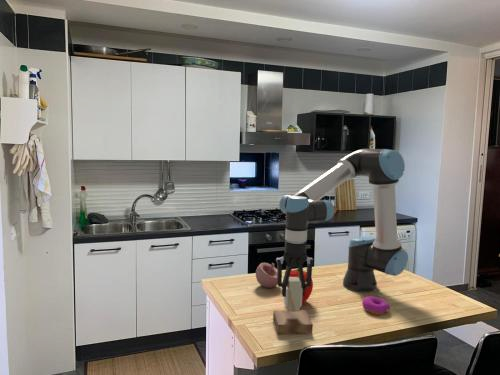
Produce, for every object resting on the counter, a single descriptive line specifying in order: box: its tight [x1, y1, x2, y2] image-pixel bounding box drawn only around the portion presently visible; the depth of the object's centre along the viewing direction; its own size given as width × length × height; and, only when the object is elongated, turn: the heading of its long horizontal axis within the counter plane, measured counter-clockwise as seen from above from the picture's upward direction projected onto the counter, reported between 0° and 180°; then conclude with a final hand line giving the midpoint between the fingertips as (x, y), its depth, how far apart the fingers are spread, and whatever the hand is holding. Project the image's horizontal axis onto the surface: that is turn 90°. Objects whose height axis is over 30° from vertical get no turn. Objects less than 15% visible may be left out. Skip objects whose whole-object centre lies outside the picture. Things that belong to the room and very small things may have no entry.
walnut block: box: [272, 309, 314, 336], centre depth 137 cm, size 12×11×4 cm
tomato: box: [289, 268, 314, 304], centre depth 157 cm, size 13×11×14 cm
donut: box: [361, 295, 390, 316], centre depth 153 cm, size 10×10×4 cm
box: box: [285, 277, 301, 312], centre depth 135 cm, size 5×4×11 cm
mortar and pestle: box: [255, 262, 278, 289], centre depth 173 cm, size 12×12×12 cm
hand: (292, 304), depth 136 cm, fingers closed on box, 4 cm apart
